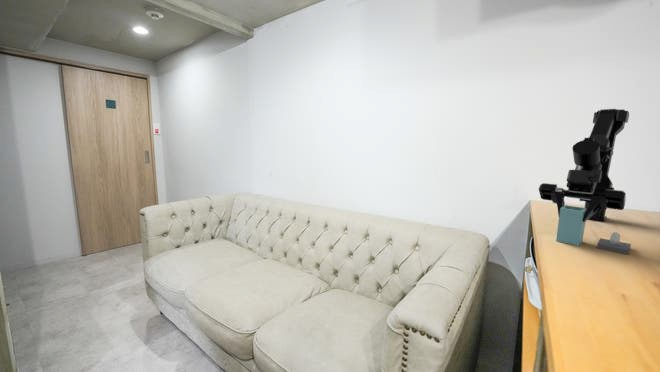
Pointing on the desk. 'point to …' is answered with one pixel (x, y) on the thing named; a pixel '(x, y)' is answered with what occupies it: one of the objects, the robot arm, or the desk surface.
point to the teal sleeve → (571, 225)
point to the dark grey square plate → (614, 244)
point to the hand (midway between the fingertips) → (571, 219)
